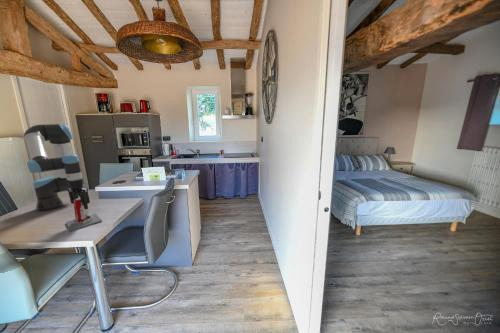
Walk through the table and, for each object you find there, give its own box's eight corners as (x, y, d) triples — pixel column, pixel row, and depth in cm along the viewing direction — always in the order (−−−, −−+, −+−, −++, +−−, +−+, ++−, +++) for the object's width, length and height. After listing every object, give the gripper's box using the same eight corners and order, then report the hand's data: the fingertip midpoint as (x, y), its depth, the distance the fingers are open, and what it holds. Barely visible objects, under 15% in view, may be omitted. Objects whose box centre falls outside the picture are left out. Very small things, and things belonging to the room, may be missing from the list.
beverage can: (76, 220, 133) (71, 198, 130) (88, 217, 137) (84, 196, 134) (75, 223, 129) (70, 201, 126) (88, 220, 132) (84, 198, 129)
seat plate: (66, 223, 133) (65, 222, 133) (95, 214, 145) (95, 213, 144) (70, 231, 123) (70, 230, 122) (101, 221, 134) (101, 220, 134)
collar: (72, 221, 133) (71, 219, 133) (91, 216, 141) (91, 213, 140) (75, 226, 126) (74, 224, 126) (95, 220, 134) (95, 218, 133)
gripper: (57, 180, 125) (66, 215, 130) (80, 181, 122) (88, 216, 127) (69, 177, 132) (77, 210, 138) (92, 177, 129) (99, 211, 134)
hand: (83, 213), depth 132 cm, fingers closed on beverage can, 5 cm apart
